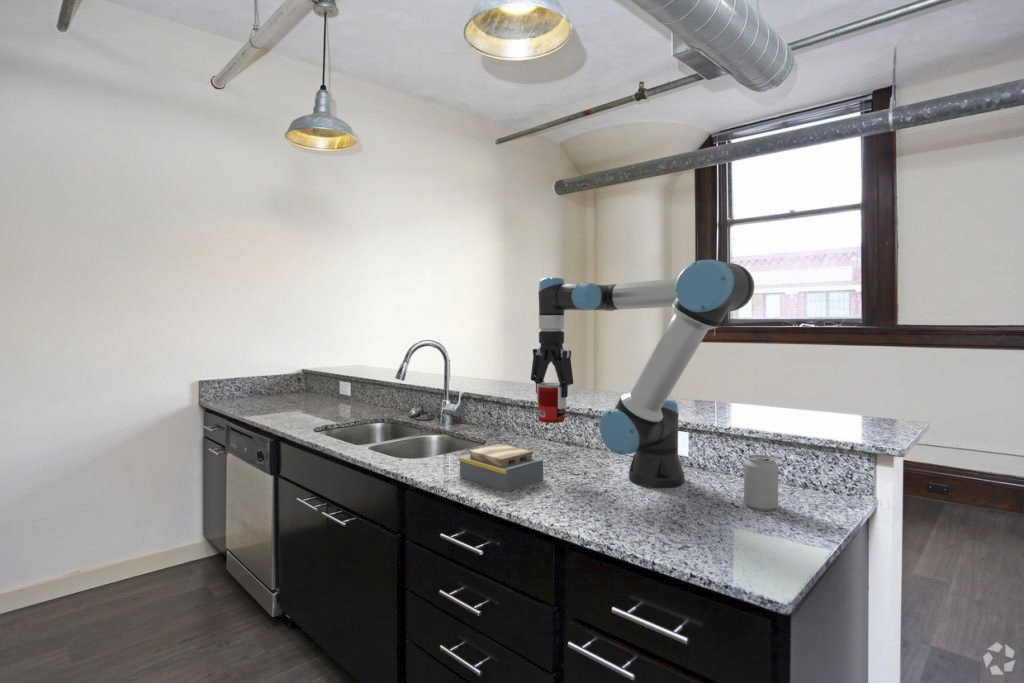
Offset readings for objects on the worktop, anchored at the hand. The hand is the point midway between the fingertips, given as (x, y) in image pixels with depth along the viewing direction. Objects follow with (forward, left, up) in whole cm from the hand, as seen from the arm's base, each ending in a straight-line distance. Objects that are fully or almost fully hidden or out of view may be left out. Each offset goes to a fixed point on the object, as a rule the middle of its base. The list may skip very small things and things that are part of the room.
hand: (551, 406), depth 159 cm
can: (-56, -13, -20) cm, 61 cm away
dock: (+5, +16, -19) cm, 26 cm away
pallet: (+5, +16, -13) cm, 22 cm away
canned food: (0, 0, -4) cm, 4 cm away
